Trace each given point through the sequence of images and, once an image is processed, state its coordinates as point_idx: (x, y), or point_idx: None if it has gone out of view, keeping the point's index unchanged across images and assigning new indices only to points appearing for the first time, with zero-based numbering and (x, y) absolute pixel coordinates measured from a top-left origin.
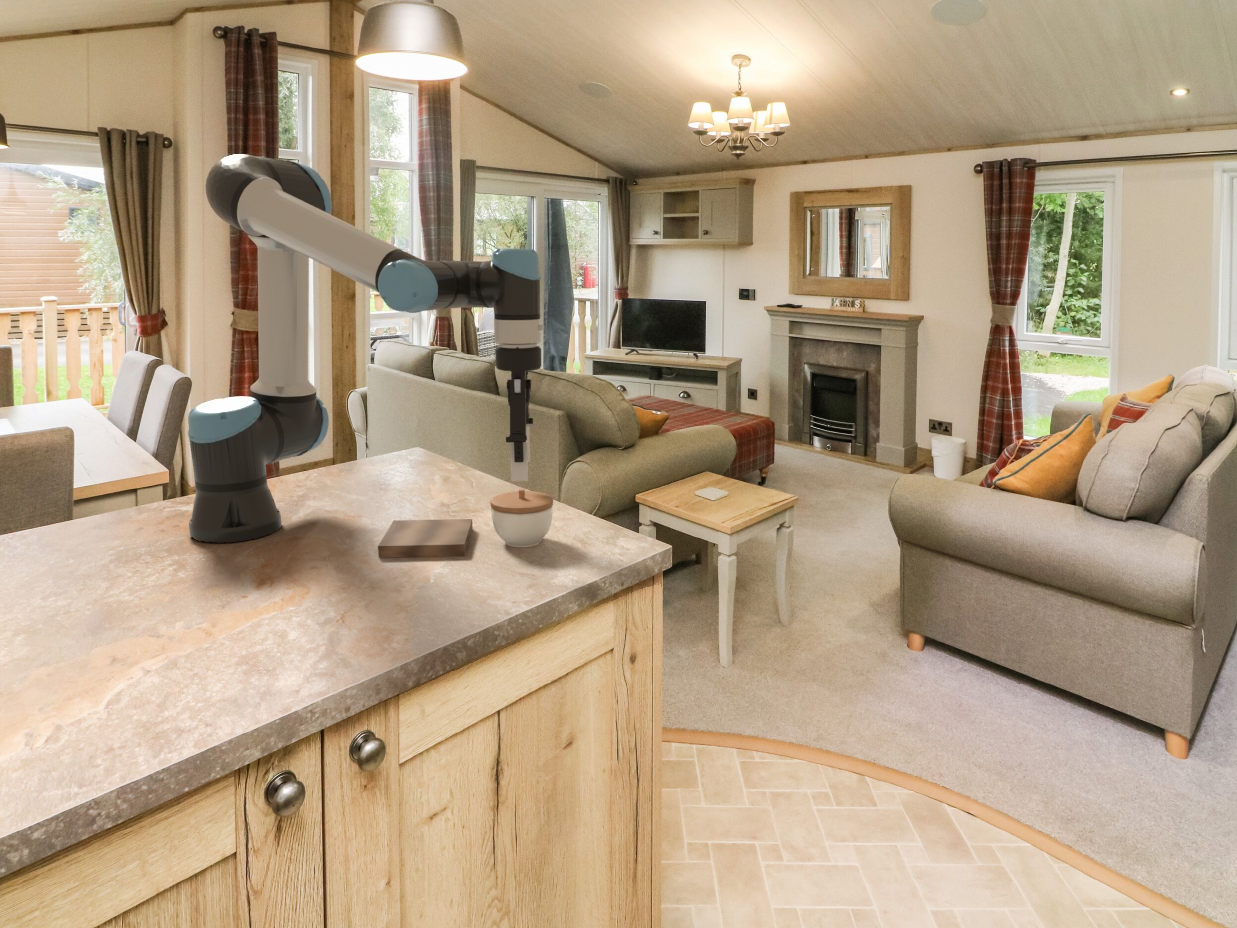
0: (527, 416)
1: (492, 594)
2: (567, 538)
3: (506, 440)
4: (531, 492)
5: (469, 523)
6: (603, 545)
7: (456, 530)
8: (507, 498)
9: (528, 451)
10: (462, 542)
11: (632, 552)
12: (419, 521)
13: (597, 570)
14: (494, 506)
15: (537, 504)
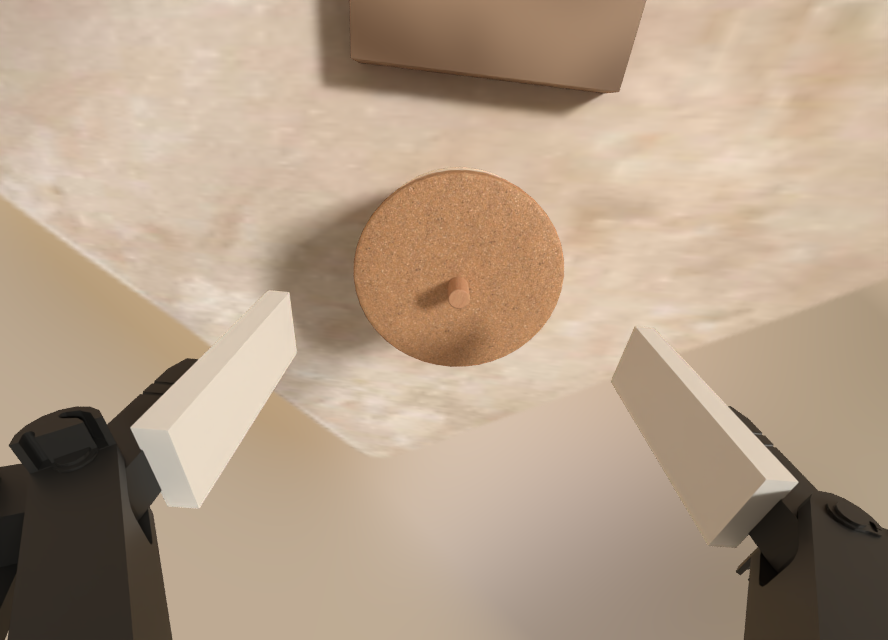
0: (748, 623)
1: (85, 141)
2: None
3: (39, 423)
4: (522, 319)
5: (570, 80)
6: (405, 386)
7: (502, 24)
8: (465, 239)
9: (633, 409)
10: (368, 50)
11: (362, 420)
12: None
13: None
14: (406, 185)
15: (384, 324)
